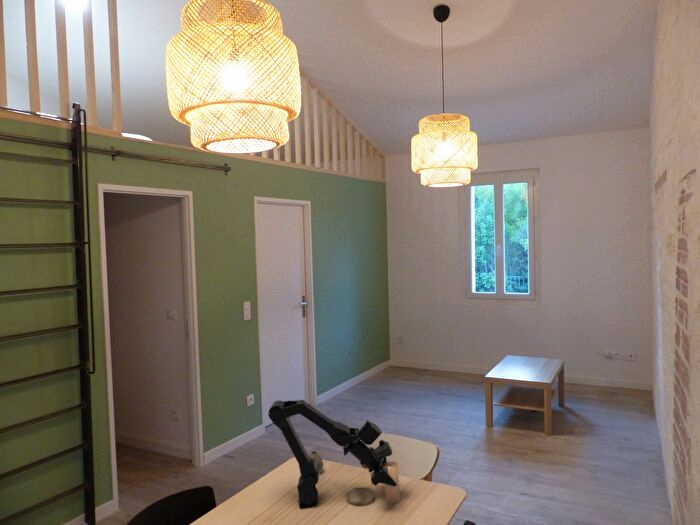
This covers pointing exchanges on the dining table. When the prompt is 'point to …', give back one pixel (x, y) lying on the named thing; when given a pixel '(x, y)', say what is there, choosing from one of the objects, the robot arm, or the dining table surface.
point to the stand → (360, 496)
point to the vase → (318, 458)
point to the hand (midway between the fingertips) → (395, 481)
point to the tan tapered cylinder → (390, 491)
